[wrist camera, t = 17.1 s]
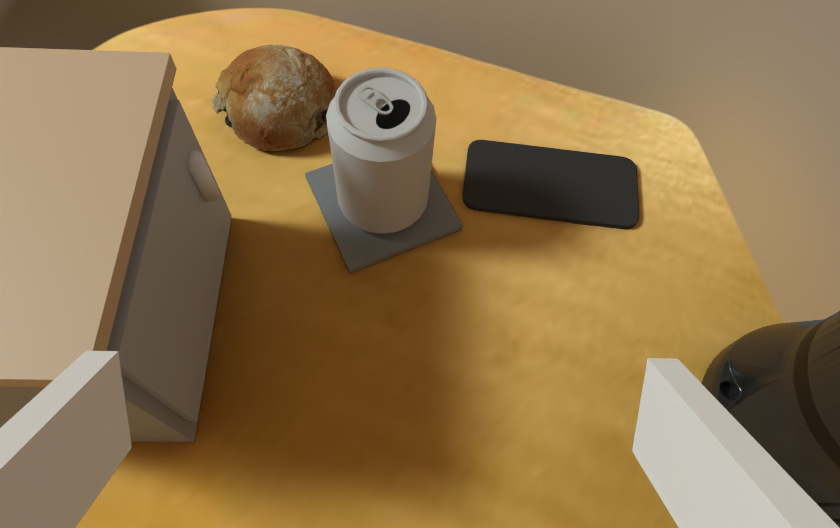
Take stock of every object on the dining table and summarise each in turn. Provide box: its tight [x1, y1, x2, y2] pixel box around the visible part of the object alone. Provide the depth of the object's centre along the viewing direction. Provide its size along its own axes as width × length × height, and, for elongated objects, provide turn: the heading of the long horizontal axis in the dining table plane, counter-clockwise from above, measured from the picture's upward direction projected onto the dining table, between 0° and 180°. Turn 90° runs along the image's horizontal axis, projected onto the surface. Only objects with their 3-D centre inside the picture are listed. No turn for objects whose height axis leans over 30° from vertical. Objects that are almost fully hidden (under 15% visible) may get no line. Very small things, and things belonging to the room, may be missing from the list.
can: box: [326, 68, 436, 234], centre depth 44 cm, size 8×8×12 cm
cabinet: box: [0, 47, 232, 442], centre depth 37 cm, size 14×19×17 cm
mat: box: [305, 164, 462, 273], centre depth 50 cm, size 10×10×1 cm
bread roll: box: [213, 45, 335, 151], centre depth 52 cm, size 10×10×8 cm
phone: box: [463, 140, 639, 229], centre depth 52 cm, size 7×1×15 cm
